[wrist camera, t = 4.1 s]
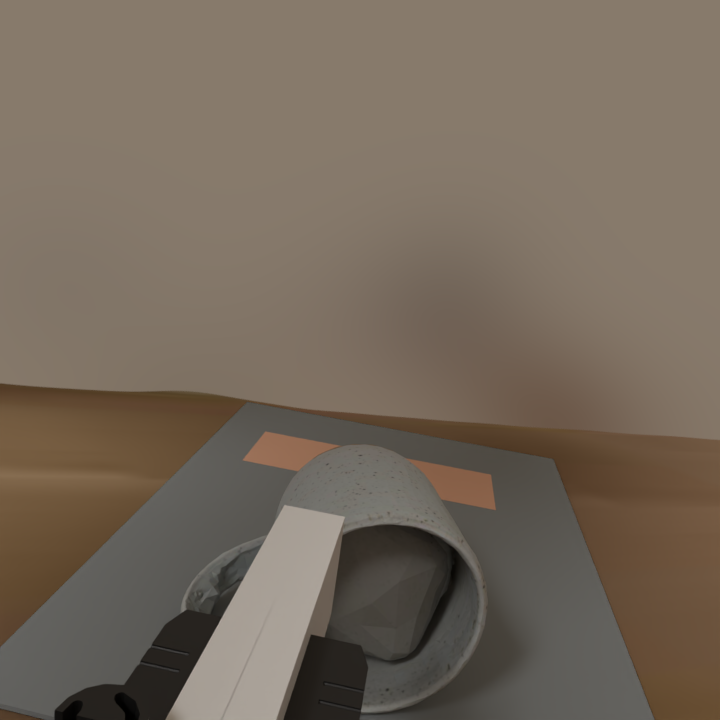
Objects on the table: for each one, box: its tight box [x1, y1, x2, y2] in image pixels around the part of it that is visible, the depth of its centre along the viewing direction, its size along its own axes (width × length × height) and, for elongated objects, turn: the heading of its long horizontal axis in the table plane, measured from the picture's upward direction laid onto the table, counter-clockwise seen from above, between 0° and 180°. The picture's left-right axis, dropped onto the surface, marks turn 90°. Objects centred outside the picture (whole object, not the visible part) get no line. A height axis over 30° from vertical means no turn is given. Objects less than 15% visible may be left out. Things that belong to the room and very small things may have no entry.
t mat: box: [0, 402, 654, 720], centre depth 33 cm, size 24×30×1 cm
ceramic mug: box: [180, 444, 488, 714], centre depth 24 cm, size 11×8×8 cm
